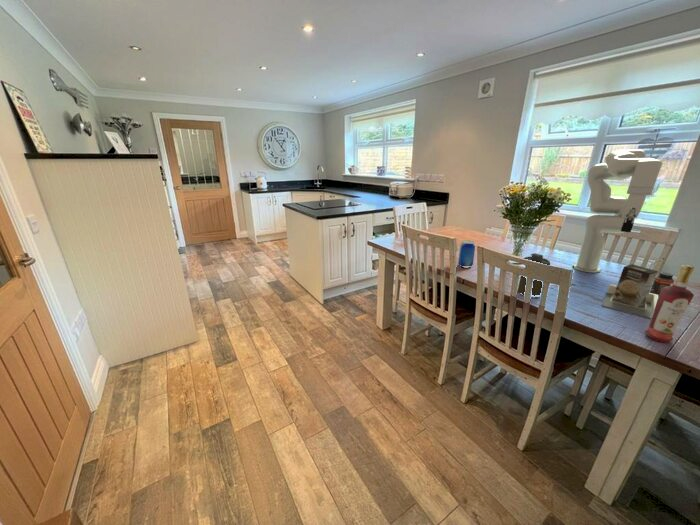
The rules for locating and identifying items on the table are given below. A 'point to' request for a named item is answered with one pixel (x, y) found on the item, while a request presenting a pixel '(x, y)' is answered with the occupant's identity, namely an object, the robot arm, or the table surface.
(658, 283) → the supplement bottle
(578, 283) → the table surface
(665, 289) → the liquor
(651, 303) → the corner arena
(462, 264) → the beer can
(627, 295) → the coffee box
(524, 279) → the canister
